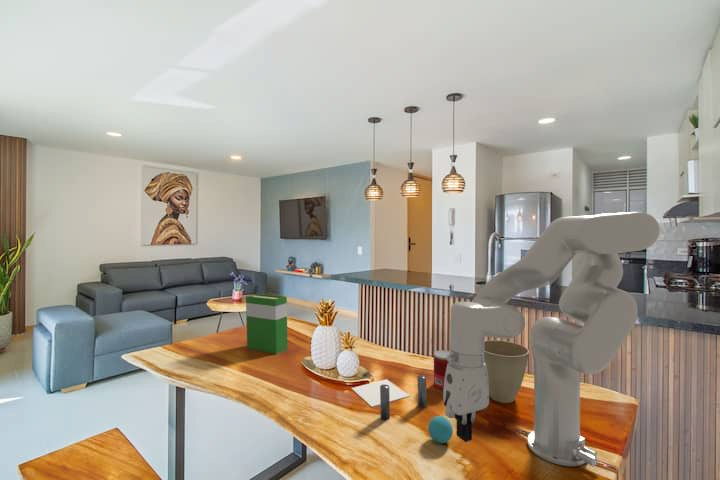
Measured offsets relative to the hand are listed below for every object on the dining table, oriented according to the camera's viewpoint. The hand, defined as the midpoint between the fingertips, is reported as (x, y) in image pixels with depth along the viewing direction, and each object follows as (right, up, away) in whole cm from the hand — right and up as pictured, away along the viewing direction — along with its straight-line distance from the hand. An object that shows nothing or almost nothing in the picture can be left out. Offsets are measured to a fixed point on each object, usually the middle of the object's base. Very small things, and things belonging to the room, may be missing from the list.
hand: (464, 437), depth 78 cm
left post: (-16, -6, +20) cm, 26 cm away
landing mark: (-17, -5, +35) cm, 40 cm away
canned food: (+6, -5, +39) cm, 40 cm away
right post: (-5, -5, +26) cm, 27 cm away
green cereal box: (-66, -5, +80) cm, 104 cm away
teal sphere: (-3, -3, +9) cm, 10 cm away
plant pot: (+21, -5, +31) cm, 38 cm away
